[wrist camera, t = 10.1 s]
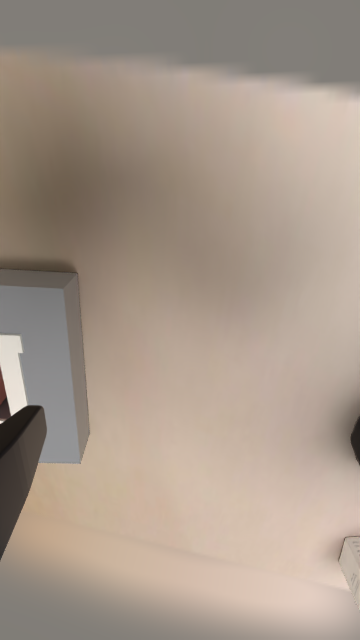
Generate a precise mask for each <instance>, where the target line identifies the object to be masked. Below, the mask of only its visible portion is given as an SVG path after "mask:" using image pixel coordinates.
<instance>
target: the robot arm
mask: <svg viewBox="0 0 360 640" xmlns="http://www.w3.org/2000/svg"><path fill="white" fill-rule="evenodd" d="M46 435H47V425H46V418H45V412H44V408H43V406H41V405H27V406H25V407H23V408H22V409H21V410H19V411H18V412H16V413H15V414H13V415H12V416H11V417H9V418H8V419H6V420H5V421H3V422H2V423H1V424H0V560H1V558H2V555H3V553H4V551H5V548H6V546H7V543H8V541H9V539H10V536H11V534H12V532H13V529H14V527H15V525H16V522H17V520H18V517H19V515H20V513H21V510H22V508H23V506H24V503H25V501H26V498H27V496H28V493H29V491H30V488H31V485H32V481H33V478H34V475H35V472H36V468H37V465H38V462H39V458H40V455H41V452H42V449H43V445H44V442H45V439H46ZM351 444H352V447H353V449H354V452H355V454H356V459H357V461H358V463H359V464H360V417H358V419H357V422H356V424H355V427H354V429H353V432H352V434H351Z"/></svg>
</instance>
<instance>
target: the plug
mask: <svg viewBox="0 0 360 640" xmlns="http://www.w3.org/2000/svg"><path fill="white" fill-rule="evenodd" d="M6 397H7V394H6V390H5V385H4V380H3V376H2V371H1V366H0V405H1V404H2V402H3V401H4V399H5V398H6Z"/></svg>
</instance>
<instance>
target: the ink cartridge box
mask: <svg viewBox="0 0 360 640" xmlns="http://www.w3.org/2000/svg"><path fill="white" fill-rule="evenodd" d="M339 564H340V567H341V569H342V572H343V574H344V576H345V578H346V581H347V583H348V585H349V588H350V590H351V592H352V595H353V597H354V599H355V602H356V604H357V606H358V609H359V611H360V537H346V538H345V541H344V545H343V549H342V552H341V556H340V559H339Z"/></svg>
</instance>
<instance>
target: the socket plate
mask: <svg viewBox="0 0 360 640" xmlns="http://www.w3.org/2000/svg"><path fill="white" fill-rule="evenodd" d="M0 366H1V371H2V376H3V380H4V385H5V390H6V394H7V397H6V398H5V399H4V401H3V402H2V404H1V405H0V424H1V423H2V422H3V421H5V420H6V419H8V418H9V417H11V416H12V415H13V414H15V413H16V412H18V411H19V410H21V409H22V408H23V407H25V406H27V405H41V406H43V408H44V412H45V418H46V425H47V435H46V439H45V442H44V445H43V449H42V452H41V455H40V458H39V462H38V463H72V464H81V460H82V457H83V454H84V450H85V447H86V444H87V441H88V437H89V434H90V431H89V418H88V405H87V392H86V378H85V365H84V352H83V339H82V326H81V313H80V299H79V286H78V273H67V272H49V271H31V270H13V269H0Z"/></svg>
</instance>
